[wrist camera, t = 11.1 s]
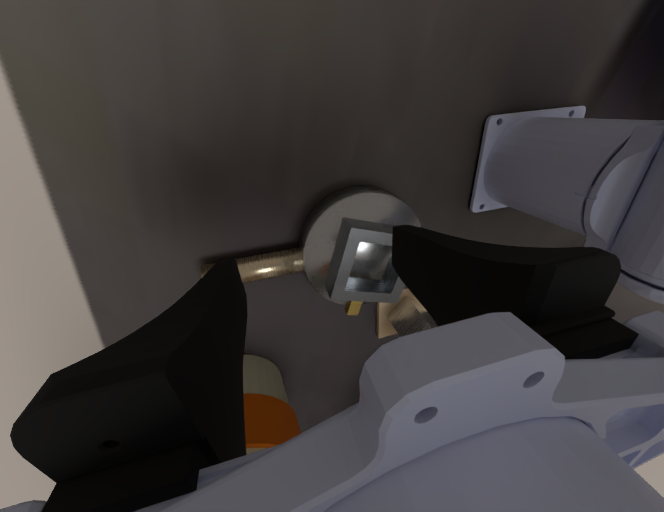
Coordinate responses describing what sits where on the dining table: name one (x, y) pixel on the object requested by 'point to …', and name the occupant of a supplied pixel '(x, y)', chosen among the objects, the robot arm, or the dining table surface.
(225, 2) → the dining table surface
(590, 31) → the dining table surface
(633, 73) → the dining table surface
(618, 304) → the coffee cup
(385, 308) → the coaster
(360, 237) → the open square box
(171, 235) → the dining table surface
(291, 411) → the reusable coffee cup
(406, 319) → the grey block
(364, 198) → the grey frying pan
